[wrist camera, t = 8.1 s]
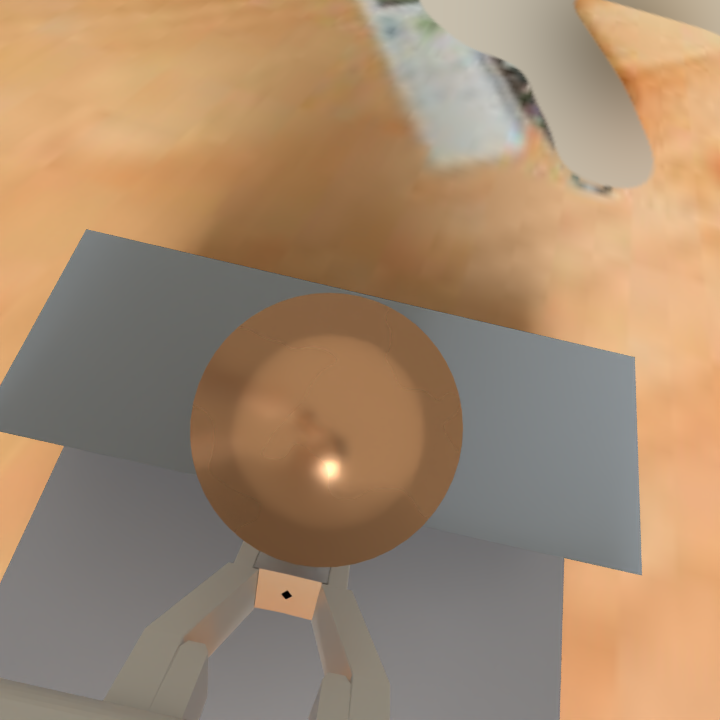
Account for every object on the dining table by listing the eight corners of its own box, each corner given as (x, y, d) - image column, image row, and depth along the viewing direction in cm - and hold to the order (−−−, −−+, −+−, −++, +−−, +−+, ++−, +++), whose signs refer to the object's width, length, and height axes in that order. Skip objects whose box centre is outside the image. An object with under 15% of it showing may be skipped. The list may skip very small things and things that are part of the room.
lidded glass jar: (253, 490, 14) (144, 530, 6) (288, 370, 16) (241, 268, 8) (378, 518, 14) (443, 597, 6) (400, 395, 16) (476, 323, 8)
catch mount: (-8, 663, 13) (-302, 838, 7) (159, 288, 18) (71, 200, 12) (533, 779, 14) (700, 1042, 7) (551, 379, 19) (660, 338, 13)
